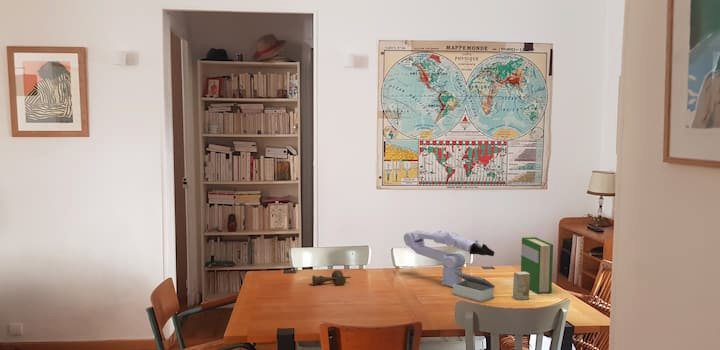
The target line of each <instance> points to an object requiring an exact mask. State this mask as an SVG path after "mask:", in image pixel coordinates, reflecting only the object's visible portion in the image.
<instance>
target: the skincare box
mask: <svg viewBox="0 0 720 350" xmlns="http://www.w3.org/2000/svg"><path fill="white" fill-rule="evenodd" d="M512 285H513V287H512V297H513V298H514V299H515V300H518V301H519V300H520V301H521V300H530V290H529V285H530V274H529V273H527V272H521V271H514V272H513V284H512Z"/></svg>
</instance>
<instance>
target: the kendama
mask: <svg viewBox="0 0 720 350" xmlns="http://www.w3.org/2000/svg"><path fill="white" fill-rule="evenodd" d="M343 273H344V272H342V270H340V269H337V270H334V271H332V273H331V277H330V276H323V275H320V276H317V275H316V276H315V275H314V274H313V275H312V277H311V282H312V285H313V286H316V285H318V284H321V285H323V284H325V283H327V282H331V281H334V283H335V285H336V286H339V287H340V286H344V285H345V284H346V282H347V281H346V280H347V279H351V278H352V276H344V274H343Z"/></svg>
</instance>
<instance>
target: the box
mask: <svg viewBox="0 0 720 350" xmlns="http://www.w3.org/2000/svg"><path fill="white" fill-rule="evenodd" d="M494 291H495V287H490V286H486V285H482V284H478V283H474V282H470V281H466V280H462V282H459V283H456V284H453V287H452V295H454V296H457V297H460V298H463V299H468V300H471V301H474V302H475V301H476V302H478V303H484V302H486V301H489V300H491V299H494V298H495V297H494V296H495V292H494Z"/></svg>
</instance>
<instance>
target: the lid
mask: <svg viewBox="0 0 720 350" xmlns="http://www.w3.org/2000/svg"><path fill="white" fill-rule="evenodd" d="M454 273H455V274H456V275H458V276H459V277H461V278H462V280H463V281H465V280H466V281H470V282H474V283H478V284H482V285H486V286H490V287H494V288H495V287H496V285H494V284H493V283H492V282H490V281H488V280H487V279H486V278H484V277H483V278H482V277H478V276H476V275H475V276H474V275H471V274H466V273H463V272H462V273H459V272H454Z"/></svg>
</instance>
